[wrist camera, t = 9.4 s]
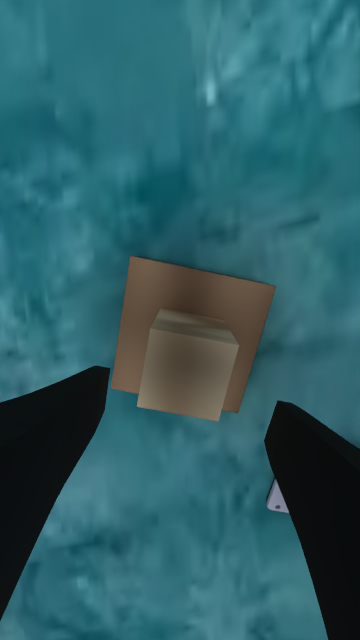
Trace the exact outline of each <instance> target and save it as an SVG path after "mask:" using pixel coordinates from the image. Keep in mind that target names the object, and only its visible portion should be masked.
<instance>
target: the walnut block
mask: <svg viewBox="0 0 360 640" xmlns="http://www.w3.org/2000/svg"><path fill="white" fill-rule="evenodd" d="M275 289H276V286H272V285H269V284H265V283H261V282H256V281H251V280H247V279H242V278H237V277H232V276H228V275H223V274H218V273H213V272H208V271H204V270H199V269H194V268H189V267H185V266H180V265H175V264H170V263H166V262H161V261H156V260H151V259H146V258H142V257H136V256H130V261H129V268H128V275H127V282H126V289H125V295H124V302H123V309H122V316H121V323H120V330H119V336H118V343H117V350H116V357H115V364H114V370H113V377H112V384H111V389H116V390H121V391H126V392H132V393H137V394H139V391H140V385H141V380H142V374H143V368H144V362H145V356H146V350H147V344H148V338H149V333H150V328H151V326H152V324H153V322H154V320H155V318H156V316H157V314H158V312H159V310H160V309H161V308H164V309H169V310H174V311H179V312H184V313H189V314H194V315H199V316H205V317H210V318H215V319H220V320H224V321H225V323H226V325H227V326H228V328H229V329H230V331H231V333H232V334H233V336H234V338H235V339H236V341H237V343H238V344H239V348H238V352H237V356H236V359H235V363H234V366H233V370H232V374H231V377H230V381H229V385H228V388H227V392H226V396H225V399H224V403H223V406H222V410H224V411H229V412H234V413H238V411H239V408H240V405H241V401H242V398H243V395H244V391H245V388H246V385H247V381H248V378H249V375H250V372H251V368H252V365H253V362H254V358H255V355H256V352H257V348H258V345H259V342H260V338H261V335H262V332H263V329H264V325H265V322H266V319H267V315H268V312H269V309H270V305H271V302H272V299H273V295H274V292H275Z"/></svg>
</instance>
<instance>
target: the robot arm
mask: <svg viewBox="0 0 360 640" xmlns="http://www.w3.org/2000/svg"><path fill="white" fill-rule="evenodd" d="M109 374H110V368H106V367H101V366H93V367H91V368H88V369H86V370H84V371H82V372H79V373H77V374H75V375H73V376H71V377H68V378H66V379H64V380H62V381H59V382H57V383H55V384H52V385H49V386H47V387H44V388H42V389H39V390H37V391H34V392H32V393H29V394H26V395H23V396H20V397H17V398H14V399H11V400H7V401H4V402H1V403H0V620H1V618H2V616H3V614H4V611H5V609H6V607H7V605H8V602H9V600H10V598H11V596H12V593H13V591H14V589H15V587H16V585H17V582H18V580H19V578H20V576H21V573H22V571H23V569H24V567H25V565H26V563H27V560H28V558H29V556H30V554H31V552H32V550H33V547H34V545H35V543H36V541H37V539H38V537H39V534H40V532H41V530H42V528H43V526H44V524H45V522H46V520H47V518H48V516H49V514H50V511H51V509H52V507H53V505H54V503H55V501H56V499H57V497H58V495H59V494H60V492H61V490H62V488H63V486H64V484H65V483H66V481H67V479H68V478H69V476H70V474H71V473H72V471H73V469H74V467H75V466H76V464H77V462H78V461H79V459H80V457H81V456H82V454H83V452H84V451H85V449H86V447H87V445H88V444H89V442H90V440H91V439H92V437H93V435H94V433H95V431H96V429H97V427H98V425H99V422H100V420H101V418H102V415H103V413H104V410H105V403H106V396H107V388H108V381H109ZM264 442H265V447H266V451H267V455H268V459H269V462H270V466H271V468H272V471H273V474H274V476H275V480H274V483H273V486H272V489H271V491H270V494H269V497H268V500H267V503H266V504H267V507H268V508H269V509H270V510H275V511H281V512H286V513H289V514H290V516H291V519H292V521H293V524H294V526H295V529H296V531H297V534H298V537H299V540H300V543H301V546H302V549H303V552H304V555H305V559H306V562H307V565H308V568H309V572H310V575H311V578H312V582H313V585H314V589H315V592H316V596H317V599H318V603H319V606H320V610H321V614H322V617H323V621H324V624H325V628H326V632H327V636H328V640H360V449H358V448H357V447H355V446H354V445H352V444H351V443H349V442H348V441H347V440H345V439H344V438H342V437H341V436H339V435H338V434H337V433H335V432H334V431H332V430H331V429H329V428H328V427H327V426H325V425H324V424H322V423H321V422H320V421H318V420H317V419H315V418H314V417H313V416H311V415H310V414H308V413H307V412H305V411H304V410H302V409H301V408H299V407H298V406H296V405H294V404H292V403H288V402H283V401H277V404H276V407H275V410H274V413H273V416H272V419H271V421H270V424H269V427H268V430H267V433H266V436H265V439H264Z"/></svg>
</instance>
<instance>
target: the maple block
mask: <svg viewBox="0 0 360 640" xmlns="http://www.w3.org/2000/svg"><path fill="white" fill-rule="evenodd" d="M238 348H239V344H238V343H237V341H236V339H235V338H234V336H233V334H232V333H231V331H230V329H229V328H228V326H227V325H226V323H225V321H224V320H220V319H215V318H210V317H205V316H199V315H194V314H189V313H184V312H179V311H174V310H169V309H164V308H161V309H160V310H159V312H158V314H157V316H156V318H155V320H154V322H153V324H152V326H151V328H150V333H149V338H148V344H147V350H146V356H145V362H144V368H143V374H142V380H141V385H140V391H139V397H138V403H137V407H142V408H148V409H153V410H158V411H164V412H169V413H174V414H180V415H185V416H191V417H196V418H201V419H207V420H212V421H217V422H218V421H219V417H220V414H221V410H222V406H223V403H224V399H225V396H226V392H227V388H228V385H229V381H230V377H231V374H232V370H233V366H234V363H235V359H236V356H237V352H238Z"/></svg>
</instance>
